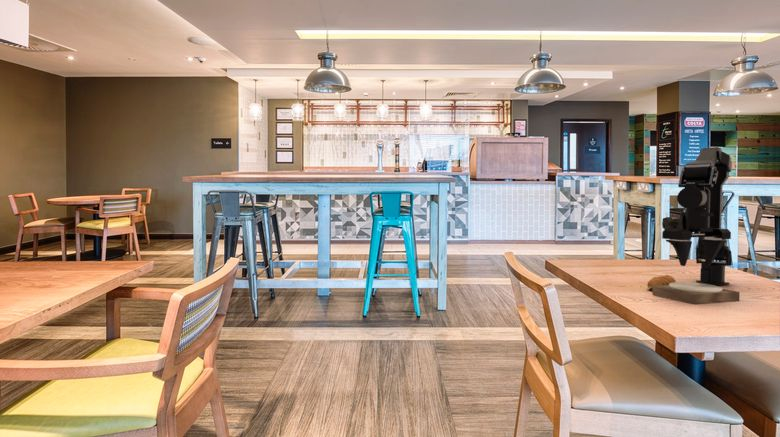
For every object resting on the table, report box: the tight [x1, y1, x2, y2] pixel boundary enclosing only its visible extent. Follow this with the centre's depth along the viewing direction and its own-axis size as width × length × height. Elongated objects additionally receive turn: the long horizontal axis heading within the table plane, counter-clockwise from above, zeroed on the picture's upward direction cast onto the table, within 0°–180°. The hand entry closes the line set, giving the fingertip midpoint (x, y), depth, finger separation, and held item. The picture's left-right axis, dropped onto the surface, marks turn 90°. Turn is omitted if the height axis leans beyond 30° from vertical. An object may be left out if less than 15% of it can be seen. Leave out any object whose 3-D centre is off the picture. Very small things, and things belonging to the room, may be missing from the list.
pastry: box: [646, 274, 677, 289], centre depth 142 cm, size 9×7×4 cm
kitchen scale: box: [652, 281, 741, 305], centre depth 131 cm, size 16×13×3 cm
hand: (695, 265), depth 131 cm, fingers open, 9 cm apart
